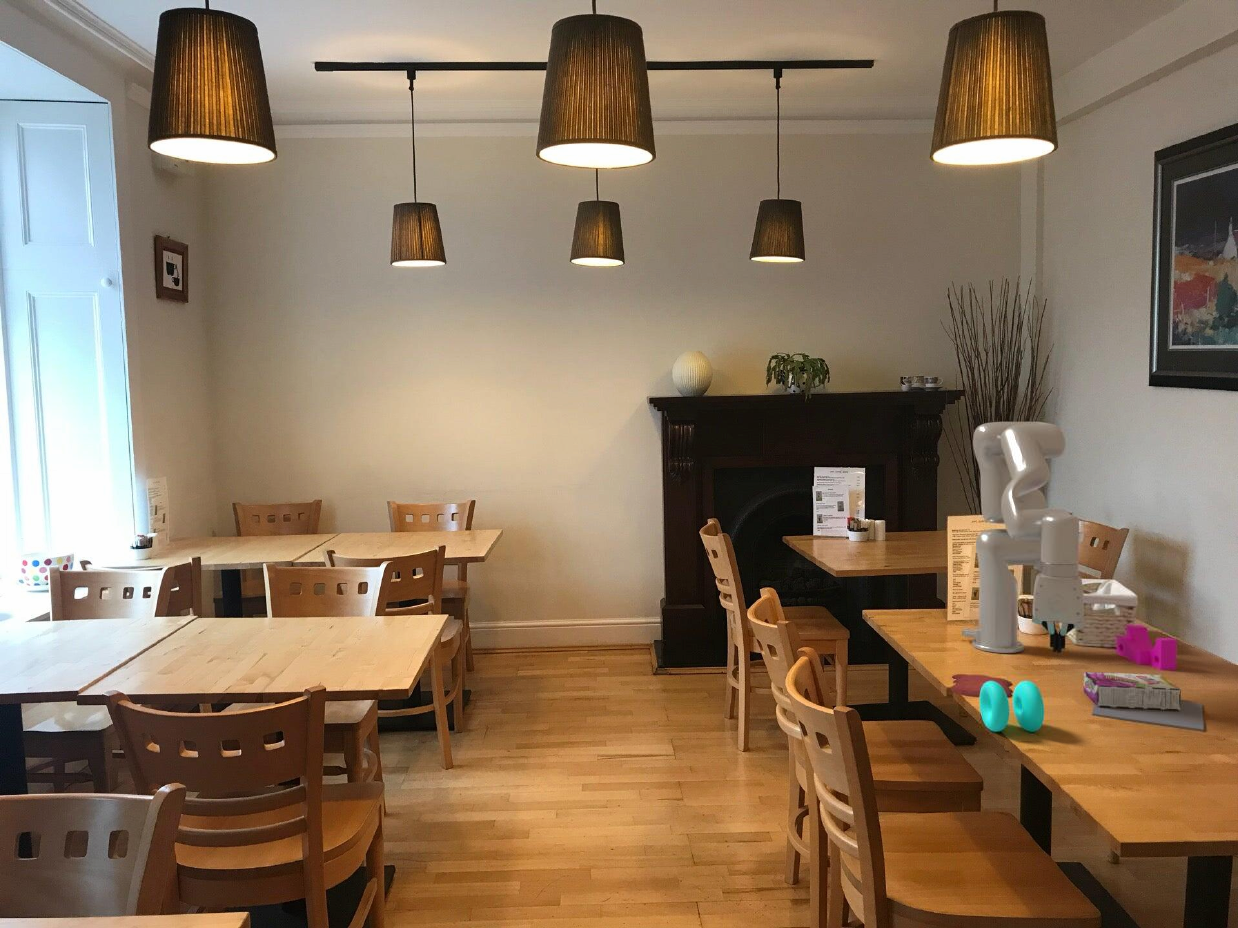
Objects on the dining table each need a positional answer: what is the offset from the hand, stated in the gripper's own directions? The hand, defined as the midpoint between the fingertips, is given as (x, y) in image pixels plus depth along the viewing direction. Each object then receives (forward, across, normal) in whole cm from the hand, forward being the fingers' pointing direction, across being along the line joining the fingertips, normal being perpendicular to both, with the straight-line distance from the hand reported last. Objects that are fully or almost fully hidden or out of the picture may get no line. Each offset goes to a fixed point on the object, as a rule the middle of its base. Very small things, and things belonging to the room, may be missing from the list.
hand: (1057, 650), depth 208 cm
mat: (+10, +18, -1) cm, 21 cm away
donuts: (+10, -6, -27) cm, 29 cm away
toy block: (+12, +16, +41) cm, 46 cm away
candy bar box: (+8, +6, 0) cm, 10 cm away
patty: (+11, -16, -2) cm, 19 cm away
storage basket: (+12, +4, +60) cm, 61 cm away
